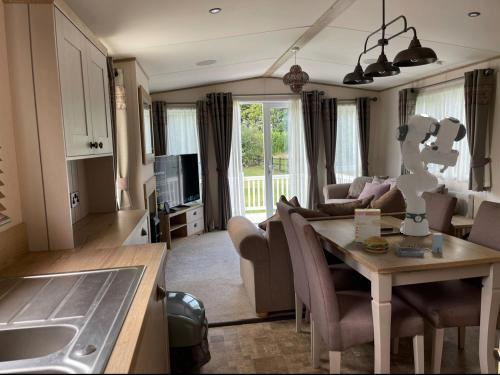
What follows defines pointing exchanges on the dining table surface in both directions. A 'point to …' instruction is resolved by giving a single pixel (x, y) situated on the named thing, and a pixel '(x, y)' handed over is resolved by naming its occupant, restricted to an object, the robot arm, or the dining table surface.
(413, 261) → the dining table surface
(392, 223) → the dining table surface
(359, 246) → the dining table surface
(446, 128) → the robot arm
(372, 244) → the food
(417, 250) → the rail channel
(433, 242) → the pale blue rectangular prism
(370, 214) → the coffeecake box
